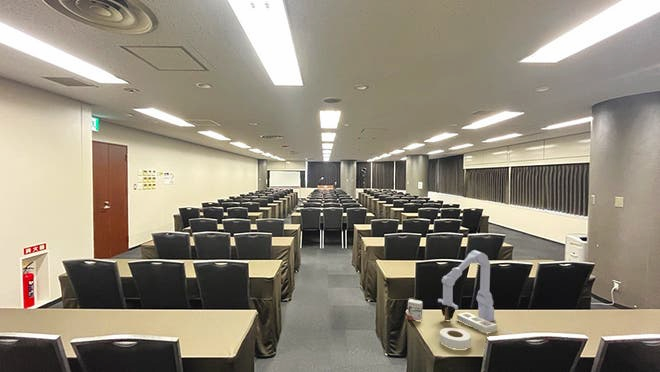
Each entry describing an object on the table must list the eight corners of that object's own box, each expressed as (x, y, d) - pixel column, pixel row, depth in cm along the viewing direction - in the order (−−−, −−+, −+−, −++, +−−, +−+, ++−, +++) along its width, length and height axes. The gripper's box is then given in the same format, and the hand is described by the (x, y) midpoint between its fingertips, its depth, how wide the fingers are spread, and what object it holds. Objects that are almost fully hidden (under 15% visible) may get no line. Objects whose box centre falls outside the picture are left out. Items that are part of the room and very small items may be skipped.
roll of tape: (434, 337, 183) (434, 327, 183) (461, 336, 184) (461, 326, 184) (447, 351, 167) (447, 341, 167) (476, 350, 168) (476, 340, 168)
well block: (466, 318, 209) (466, 312, 209) (496, 331, 191) (496, 324, 191) (456, 320, 205) (456, 314, 205) (486, 334, 187) (486, 327, 187)
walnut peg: (447, 319, 207) (447, 307, 207) (451, 321, 204) (451, 308, 204) (443, 320, 206) (443, 307, 206) (447, 322, 203) (447, 309, 203)
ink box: (407, 319, 207) (407, 301, 207) (409, 316, 211) (409, 298, 211) (420, 322, 203) (421, 303, 203) (422, 319, 207) (422, 301, 207)
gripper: (434, 292, 210) (434, 313, 210) (452, 300, 197) (452, 322, 197) (442, 291, 213) (442, 312, 213) (460, 298, 200) (460, 320, 200)
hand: (447, 316), depth 205 cm, fingers open, 5 cm apart
